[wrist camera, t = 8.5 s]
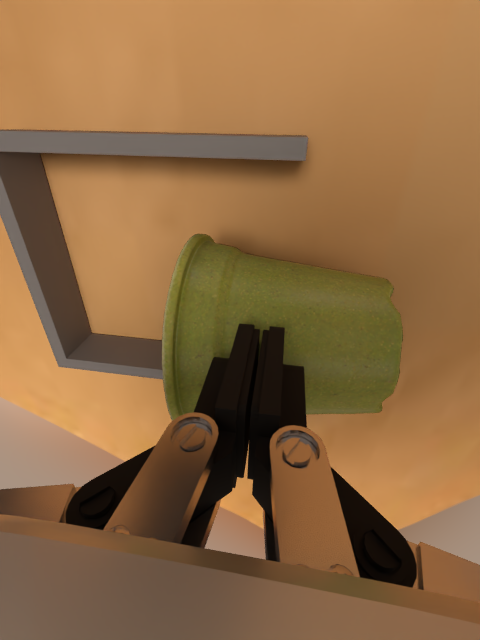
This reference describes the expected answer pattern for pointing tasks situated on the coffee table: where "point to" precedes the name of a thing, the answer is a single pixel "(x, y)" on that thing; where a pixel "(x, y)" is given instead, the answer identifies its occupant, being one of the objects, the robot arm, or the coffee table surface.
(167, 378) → the plant pot
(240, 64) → the coffee table surface
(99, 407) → the coffee table surface
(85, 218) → the coffee table surface
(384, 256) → the coffee table surface
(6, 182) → the bay
